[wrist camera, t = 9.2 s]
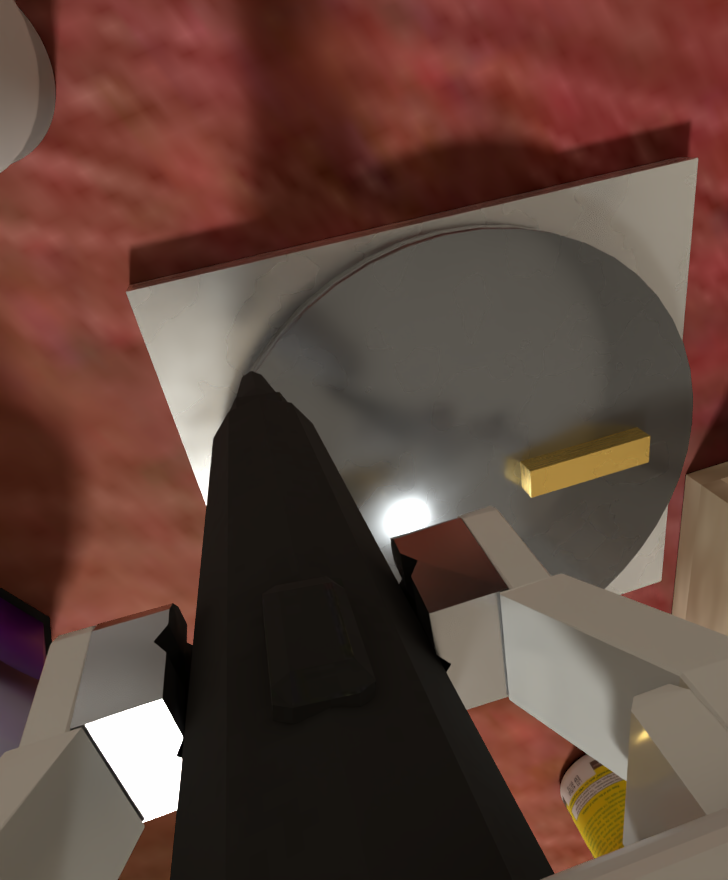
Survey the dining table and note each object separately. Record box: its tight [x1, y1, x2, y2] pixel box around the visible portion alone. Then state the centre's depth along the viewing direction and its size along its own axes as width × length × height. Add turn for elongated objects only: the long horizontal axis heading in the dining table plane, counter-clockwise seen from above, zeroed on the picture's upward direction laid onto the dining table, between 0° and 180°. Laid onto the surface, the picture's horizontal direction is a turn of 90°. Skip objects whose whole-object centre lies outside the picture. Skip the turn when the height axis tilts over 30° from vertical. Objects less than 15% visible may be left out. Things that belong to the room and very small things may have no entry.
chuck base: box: [126, 157, 698, 595], centre depth 24 cm, size 20×20×1 cm
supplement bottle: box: [560, 754, 627, 859], centre depth 34 cm, size 6×6×10 cm
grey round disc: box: [249, 225, 693, 589], centre depth 19 cm, size 19×19×12 cm
